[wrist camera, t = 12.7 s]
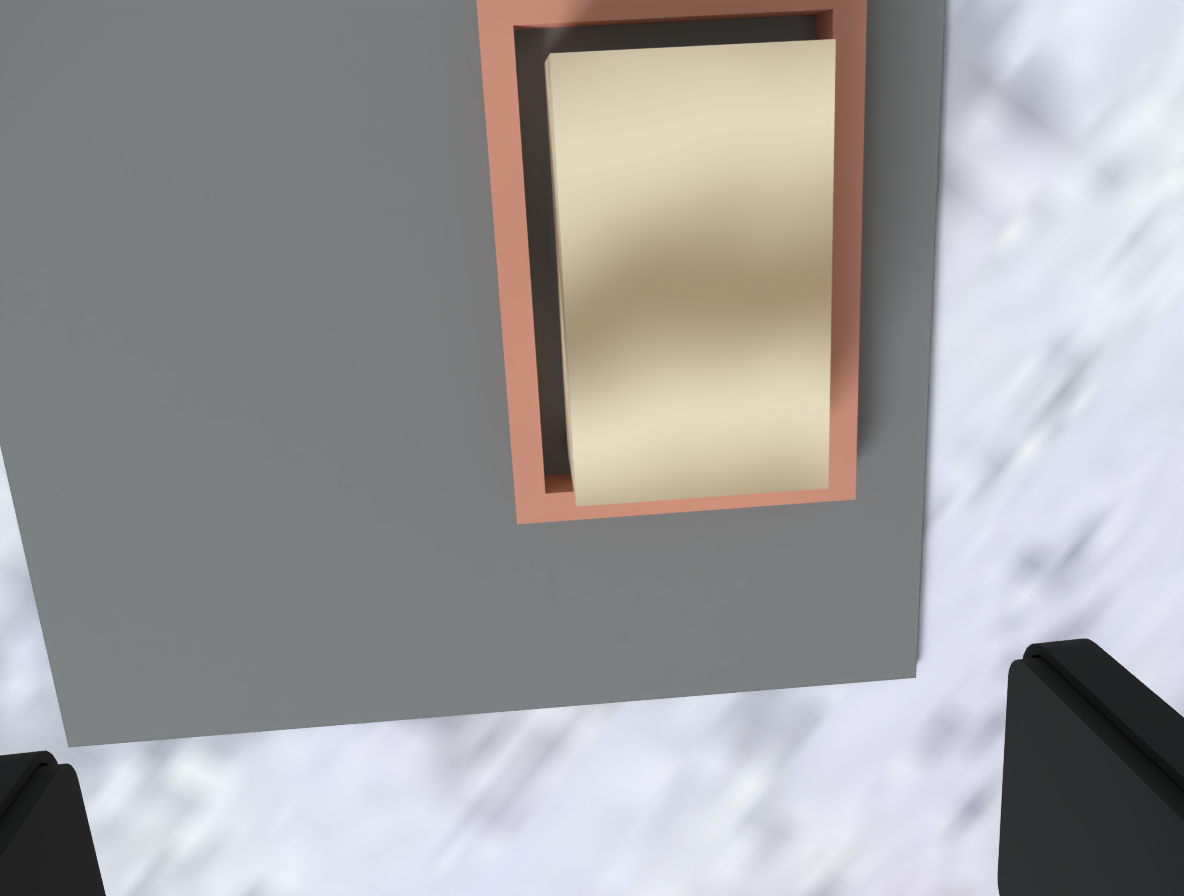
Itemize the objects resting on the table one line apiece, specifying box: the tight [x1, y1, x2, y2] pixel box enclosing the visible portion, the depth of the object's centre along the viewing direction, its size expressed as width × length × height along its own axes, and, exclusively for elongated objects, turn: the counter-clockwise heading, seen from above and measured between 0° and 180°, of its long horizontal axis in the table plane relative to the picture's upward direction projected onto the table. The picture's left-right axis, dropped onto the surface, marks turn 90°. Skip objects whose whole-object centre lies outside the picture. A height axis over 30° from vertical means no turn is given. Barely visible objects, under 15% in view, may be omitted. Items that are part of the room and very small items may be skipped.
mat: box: [0, 0, 945, 747], centre depth 28 cm, size 25×20×2 cm
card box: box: [544, 39, 836, 507], centre depth 26 cm, size 10×6×4 cm, turn 3°
